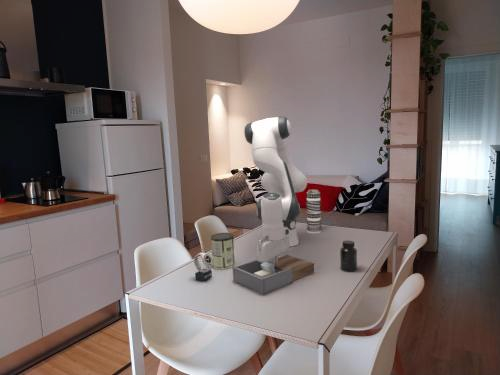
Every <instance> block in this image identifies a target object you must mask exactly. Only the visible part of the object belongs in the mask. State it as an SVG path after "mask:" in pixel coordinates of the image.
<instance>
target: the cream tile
mask: <svg viewBox="0 0 500 375" xmlns="http://www.w3.org/2000/svg"><path fill="white" fill-rule="evenodd" d="M254 275H256V276H259V277H261V278H264V277H266V276H269V275H271V273H270V272H267V271H265V270H261V271H258V272H255V273H254Z"/></svg>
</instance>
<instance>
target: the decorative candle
mask: <svg viewBox="0 0 500 375" xmlns="http://www.w3.org/2000/svg"><path fill="white" fill-rule="evenodd" d="M305 206H306V207H305V208H306V213H307V217H306V224H307V225H306V232H307V233H308V234H320V233H322V220H321V219H322V218H321V213H322V200H321V192H320V190H318V189H308V191H307V192H306V200H305Z"/></svg>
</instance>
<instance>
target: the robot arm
mask: <svg viewBox="0 0 500 375" xmlns="http://www.w3.org/2000/svg"><path fill="white" fill-rule="evenodd" d="M291 126H292V125H291V123H290V120H289V118H288V117H286V116H277V117H268V118H264V119H260V120H257V121H254V122H253V121H251V122H249V123H247V124H246V125H245V127H244V132H243V134H244V137H245V140H246V142H247V143H249V144H250V145H251V154H252V160H253V164H254V166H255V167H256V168H257V169H259V170H260V171H262V172H264V173H263V174H262V177H261V180H260V183H261V184H260V185H261V186H262V188H263V189H264V190H265V191H266V192H267V193H264V194H263V195H261V199H259V200H258V201H257V203H256V204H255V206H256V218H258V220H260V221H262V223H261V238H260V239H259V242H258V243H257V244H256V245H257V246H256V254H255V255H256V258H255V260H256V259H257V261H258V262H262V263H265V262H267V261H270V263H271V264H273V266H274V267H275V266H277V261H278V258H279V257H280V254H283V253H284V252H287V251H288V250H289V248H290V247H295V246H298V245H299V243H300V242H299V237H298V232H297V218H299V216H300V214H301V208H300V206H301V205H300V203H299V201H298V198H297V195H296V193H300V192H301V193H302V192H304V191H305V189H306V188H307V186H308V178H307V177H306V175H305V174H304V173H303V172H301V171H300V170H299V169H298V168H297V167H296V165H294V163H293V162H292V160H291V158H290V155H289V152H288V147H287V143H286V140H285V139H288V138H289V136H290V135H291V131H292V127H291Z"/></svg>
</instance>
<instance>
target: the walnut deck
mask: <svg viewBox="0 0 500 375" xmlns="http://www.w3.org/2000/svg"><path fill="white" fill-rule="evenodd" d="M267 262H268V263H270V261H269V260H268V261H267ZM270 264H271V263H270ZM288 268H292V275H293V282H294V281H296V280H298V279H301V278H304V277H306V276H309V275H311V274H314V273H315V263H314V262H312V261H307V260H305V259H302V258H300V257H299V258H298V257H296V256H295V257H294V256H291V255H289V254H285V255H282V256H279V258H278V261H277V266H275V267H274V269H277V270H279V271H282V270H285V269H288Z"/></svg>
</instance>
